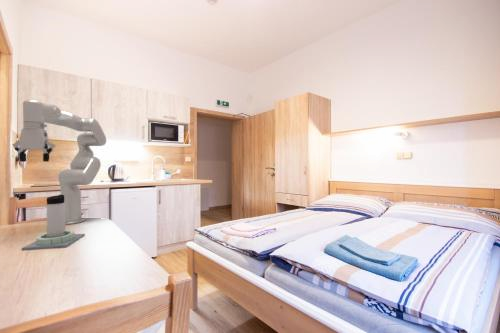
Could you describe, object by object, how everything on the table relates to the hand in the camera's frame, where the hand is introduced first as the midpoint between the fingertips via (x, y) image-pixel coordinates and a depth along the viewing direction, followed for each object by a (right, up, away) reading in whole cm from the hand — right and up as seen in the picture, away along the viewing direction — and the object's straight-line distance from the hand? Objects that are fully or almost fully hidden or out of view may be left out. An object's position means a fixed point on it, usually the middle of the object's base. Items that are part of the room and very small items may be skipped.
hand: (34, 161), depth 115 cm
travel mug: (+19, -36, -9) cm, 41 cm away
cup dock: (+18, -37, -10) cm, 42 cm away
